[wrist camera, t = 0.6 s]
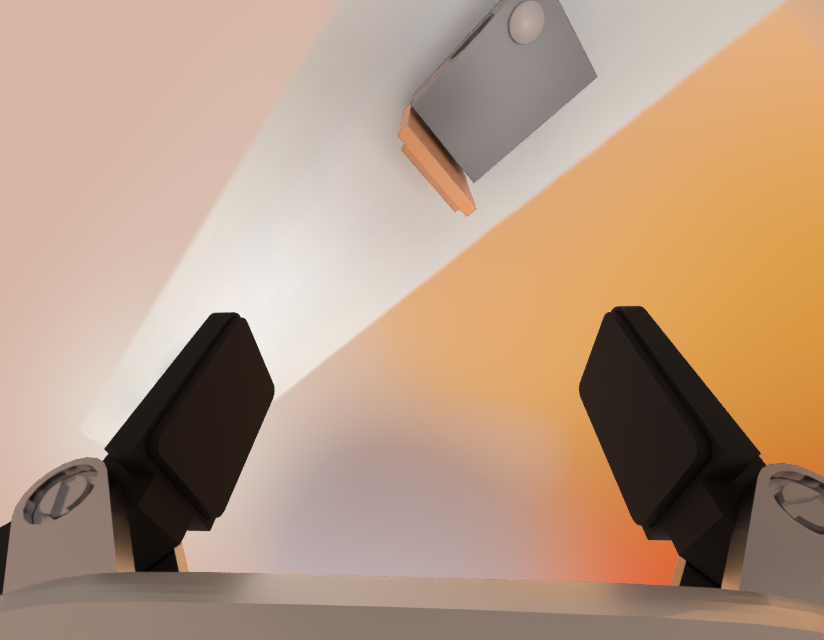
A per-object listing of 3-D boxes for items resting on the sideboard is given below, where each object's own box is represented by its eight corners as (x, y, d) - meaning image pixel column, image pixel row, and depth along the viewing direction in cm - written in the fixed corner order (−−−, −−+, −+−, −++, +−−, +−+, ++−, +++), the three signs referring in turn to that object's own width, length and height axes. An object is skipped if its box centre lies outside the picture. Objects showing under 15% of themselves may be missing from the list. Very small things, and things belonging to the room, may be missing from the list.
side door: (411, 101, 30) (407, 125, 21) (460, 163, 33) (476, 209, 23) (401, 113, 30) (392, 141, 21) (450, 172, 33) (461, 220, 24)
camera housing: (514, -18, 26) (542, -38, 20) (563, 71, 29) (600, 77, 23) (412, 93, 30) (410, 104, 24) (464, 160, 33) (474, 185, 27)
